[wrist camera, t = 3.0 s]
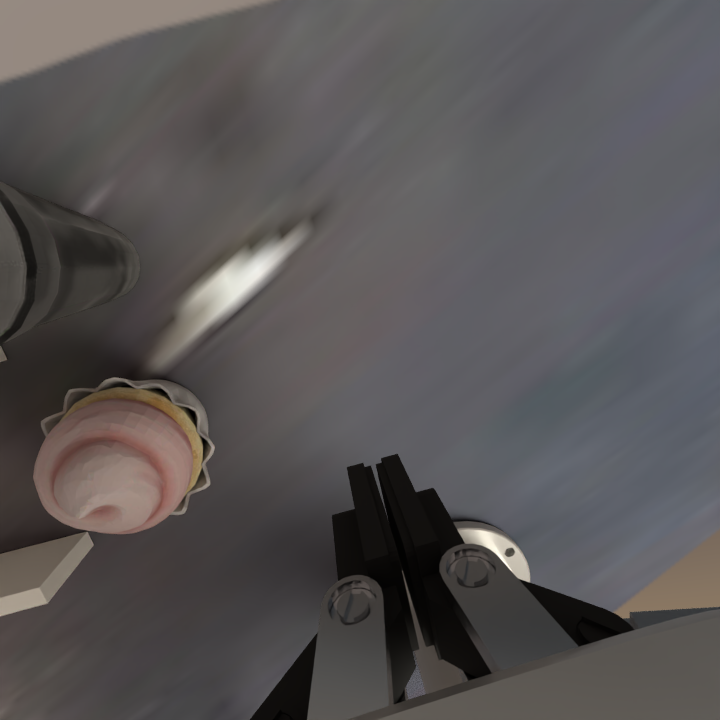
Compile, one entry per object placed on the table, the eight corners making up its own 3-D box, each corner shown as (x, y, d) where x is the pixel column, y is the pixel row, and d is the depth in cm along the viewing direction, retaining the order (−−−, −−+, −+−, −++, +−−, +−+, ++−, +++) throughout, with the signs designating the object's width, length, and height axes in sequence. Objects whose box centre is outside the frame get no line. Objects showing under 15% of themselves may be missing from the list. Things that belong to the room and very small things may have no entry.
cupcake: (103, 491, 27) (-15, 615, 17) (74, 362, 25) (-79, 422, 15) (239, 477, 28) (201, 587, 18) (223, 353, 26) (170, 403, 16)
